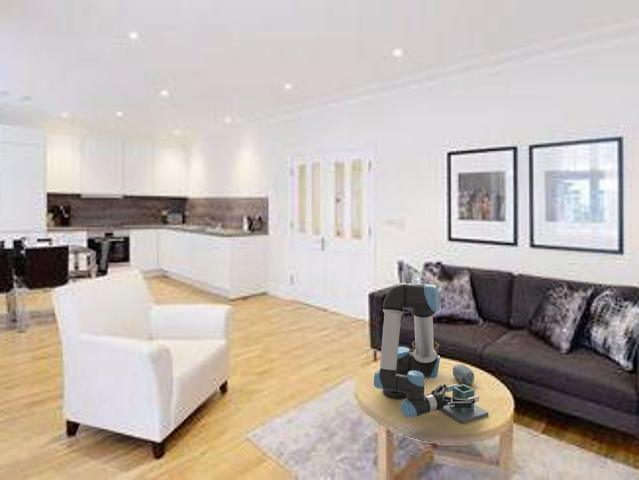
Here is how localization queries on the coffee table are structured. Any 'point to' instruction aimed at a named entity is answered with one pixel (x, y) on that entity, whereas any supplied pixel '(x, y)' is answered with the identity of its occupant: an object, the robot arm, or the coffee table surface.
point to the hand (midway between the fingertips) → (467, 392)
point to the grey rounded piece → (463, 374)
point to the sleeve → (463, 396)
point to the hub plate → (467, 416)
